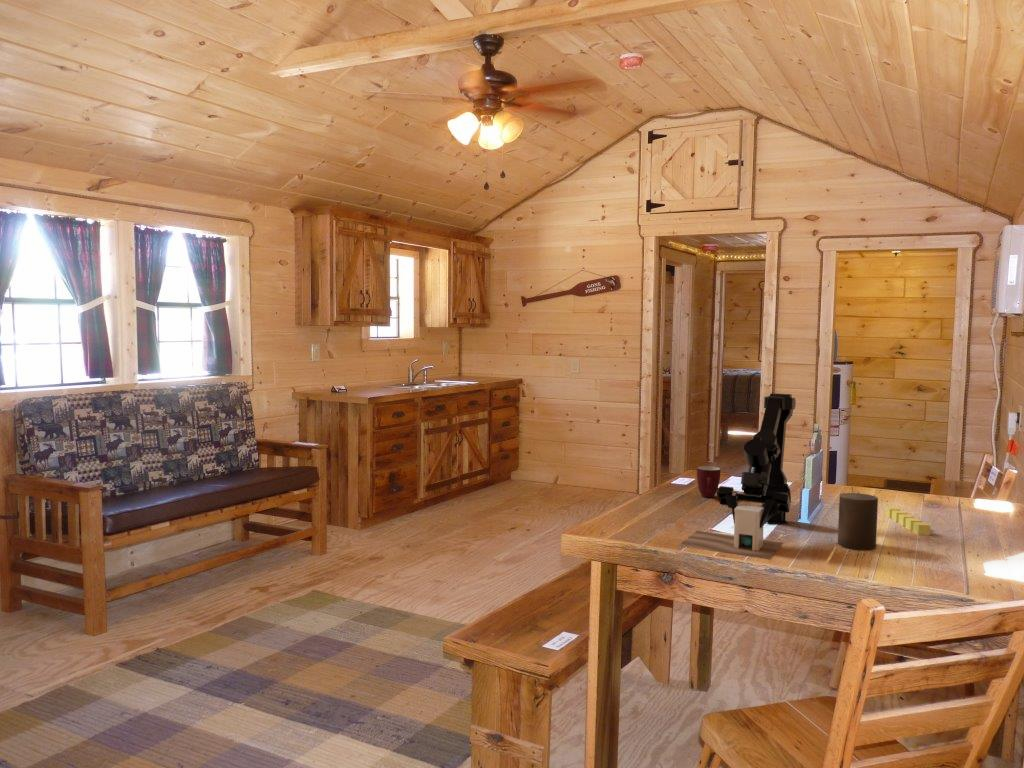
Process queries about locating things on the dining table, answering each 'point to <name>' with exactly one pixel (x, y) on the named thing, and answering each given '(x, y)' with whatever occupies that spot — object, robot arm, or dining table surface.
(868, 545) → the pillar candle
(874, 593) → the dining table surface
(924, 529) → the yellow stair block
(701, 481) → the mug
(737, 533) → the cream matte box
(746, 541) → the marble
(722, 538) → the board
